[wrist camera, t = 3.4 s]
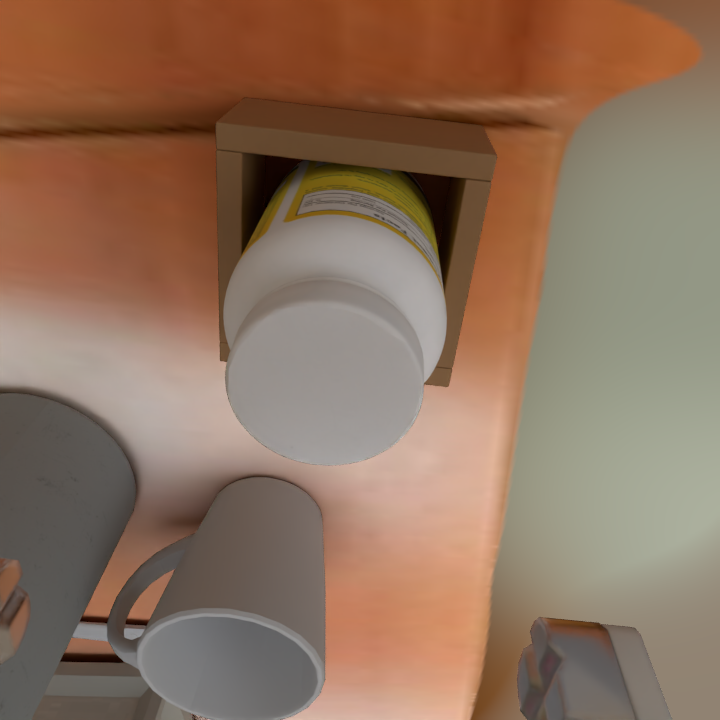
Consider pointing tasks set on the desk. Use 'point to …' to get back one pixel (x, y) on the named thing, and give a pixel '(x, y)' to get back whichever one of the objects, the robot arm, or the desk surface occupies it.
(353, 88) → the desk surface
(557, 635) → the robot arm
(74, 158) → the desk surface
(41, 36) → the desk surface
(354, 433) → the pill bottle
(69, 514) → the water bottle
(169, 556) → the cup
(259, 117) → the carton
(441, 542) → the desk surface
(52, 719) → the rotary telephone
